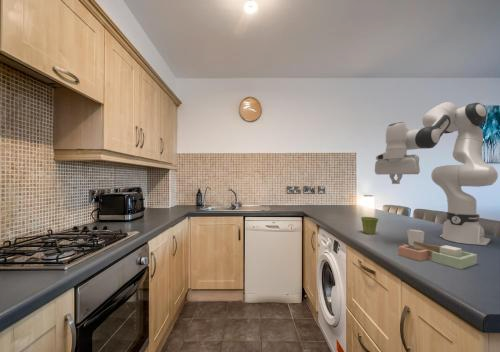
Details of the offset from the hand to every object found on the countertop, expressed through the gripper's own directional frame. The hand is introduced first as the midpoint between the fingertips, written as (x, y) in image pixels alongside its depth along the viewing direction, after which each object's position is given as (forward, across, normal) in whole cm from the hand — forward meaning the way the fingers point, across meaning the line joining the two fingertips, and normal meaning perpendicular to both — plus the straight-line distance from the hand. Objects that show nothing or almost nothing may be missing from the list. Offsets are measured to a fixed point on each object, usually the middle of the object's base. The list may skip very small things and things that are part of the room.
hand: (395, 183), depth 118 cm
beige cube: (+29, -6, -6) cm, 31 cm away
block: (+29, -25, +6) cm, 39 cm away
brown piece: (+29, -16, +6) cm, 33 cm away
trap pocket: (+29, -16, +13) cm, 35 cm away
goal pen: (+29, -26, +6) cm, 39 cm away
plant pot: (+29, +20, -8) cm, 36 cm away
